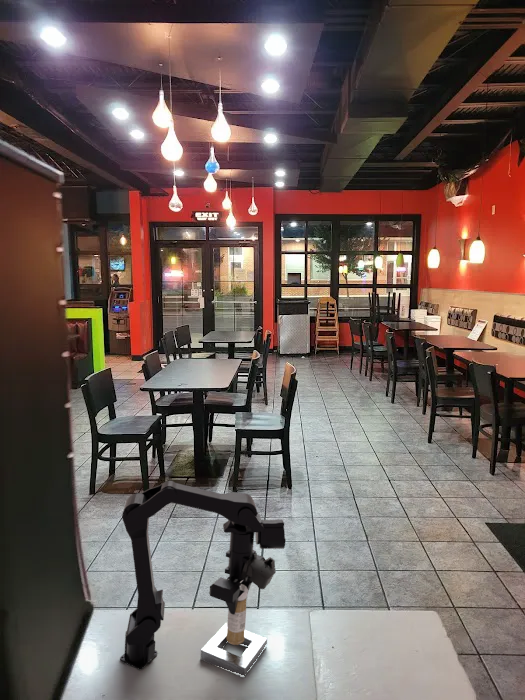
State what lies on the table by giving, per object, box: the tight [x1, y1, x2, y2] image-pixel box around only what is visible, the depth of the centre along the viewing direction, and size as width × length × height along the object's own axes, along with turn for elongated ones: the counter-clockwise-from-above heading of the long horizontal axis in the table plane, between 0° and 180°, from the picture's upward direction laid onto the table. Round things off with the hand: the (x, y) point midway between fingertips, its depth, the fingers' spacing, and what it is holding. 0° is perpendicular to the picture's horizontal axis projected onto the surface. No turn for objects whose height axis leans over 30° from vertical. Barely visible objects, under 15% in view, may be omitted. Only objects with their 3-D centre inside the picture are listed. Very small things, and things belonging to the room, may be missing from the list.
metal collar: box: [200, 622, 268, 676], centre depth 122 cm, size 12×12×2 cm
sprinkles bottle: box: [226, 584, 249, 646], centre depth 121 cm, size 5×5×14 cm
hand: (237, 608), depth 121 cm, fingers closed on sprinkles bottle, 4 cm apart
